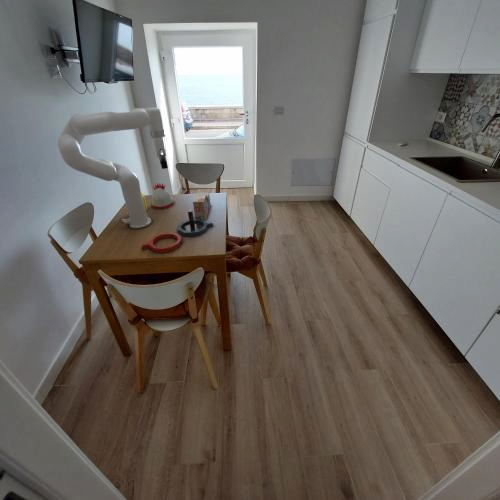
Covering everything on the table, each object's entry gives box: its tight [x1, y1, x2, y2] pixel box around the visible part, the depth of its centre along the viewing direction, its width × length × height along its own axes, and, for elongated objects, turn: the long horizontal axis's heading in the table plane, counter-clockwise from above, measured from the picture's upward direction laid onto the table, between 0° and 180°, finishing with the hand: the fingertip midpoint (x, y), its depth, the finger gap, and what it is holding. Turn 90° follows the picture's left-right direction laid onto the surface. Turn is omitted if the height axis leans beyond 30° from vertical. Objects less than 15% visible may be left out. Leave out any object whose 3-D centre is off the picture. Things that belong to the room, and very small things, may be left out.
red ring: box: [141, 231, 183, 254], centre depth 141 cm, size 19×16×2 cm
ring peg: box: [184, 209, 202, 231], centre depth 151 cm, size 8×8×12 cm
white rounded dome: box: [151, 182, 174, 210], centre depth 179 cm, size 14×14×15 cm
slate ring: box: [177, 218, 214, 238], centre depth 154 cm, size 19×16×2 cm
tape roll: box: [141, 193, 149, 212], centre depth 175 cm, size 10×10×9 cm
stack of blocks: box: [192, 192, 211, 221], centre depth 168 cm, size 21×6×12 cm, turn 179°
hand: (164, 166), depth 154 cm, fingers open, 9 cm apart
